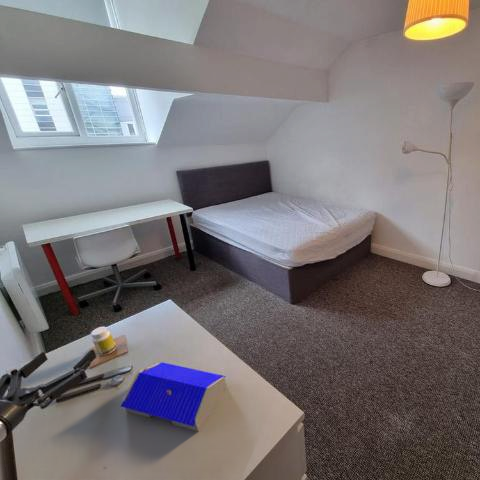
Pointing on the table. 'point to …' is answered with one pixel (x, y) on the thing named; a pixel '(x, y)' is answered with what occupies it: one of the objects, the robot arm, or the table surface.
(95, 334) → the supplement bottle
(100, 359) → the cork coaster
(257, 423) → the table surface
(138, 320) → the table surface
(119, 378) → the cutlery
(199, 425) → the roof
